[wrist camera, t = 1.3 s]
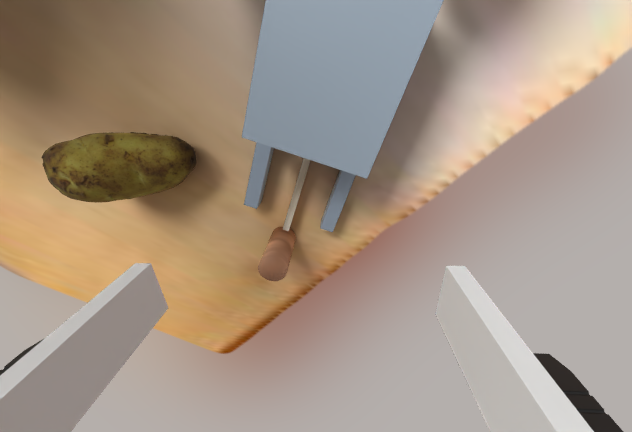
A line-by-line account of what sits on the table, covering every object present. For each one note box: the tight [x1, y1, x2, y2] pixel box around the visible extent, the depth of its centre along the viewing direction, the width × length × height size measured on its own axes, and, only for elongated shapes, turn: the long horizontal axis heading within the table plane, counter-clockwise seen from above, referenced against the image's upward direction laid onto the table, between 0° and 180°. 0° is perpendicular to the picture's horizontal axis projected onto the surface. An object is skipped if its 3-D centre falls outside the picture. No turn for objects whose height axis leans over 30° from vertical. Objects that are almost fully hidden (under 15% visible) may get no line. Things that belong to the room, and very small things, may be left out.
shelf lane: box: [242, 0, 443, 232], centre depth 23 cm, size 11×24×8 cm, turn 162°
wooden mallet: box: [258, 158, 311, 281], centre depth 26 cm, size 5×25×7 cm, turn 162°
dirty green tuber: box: [42, 132, 196, 202], centre depth 26 cm, size 8×13×8 cm, turn 78°
